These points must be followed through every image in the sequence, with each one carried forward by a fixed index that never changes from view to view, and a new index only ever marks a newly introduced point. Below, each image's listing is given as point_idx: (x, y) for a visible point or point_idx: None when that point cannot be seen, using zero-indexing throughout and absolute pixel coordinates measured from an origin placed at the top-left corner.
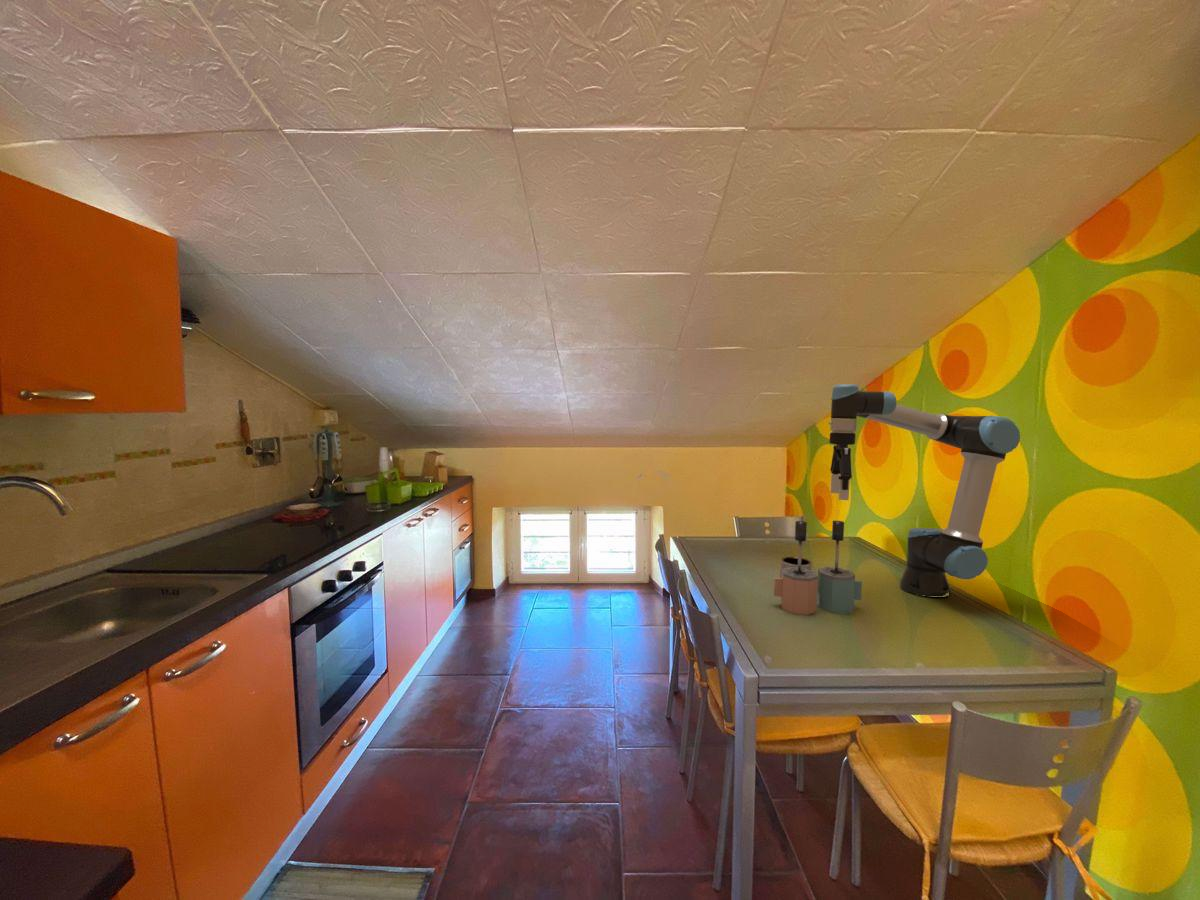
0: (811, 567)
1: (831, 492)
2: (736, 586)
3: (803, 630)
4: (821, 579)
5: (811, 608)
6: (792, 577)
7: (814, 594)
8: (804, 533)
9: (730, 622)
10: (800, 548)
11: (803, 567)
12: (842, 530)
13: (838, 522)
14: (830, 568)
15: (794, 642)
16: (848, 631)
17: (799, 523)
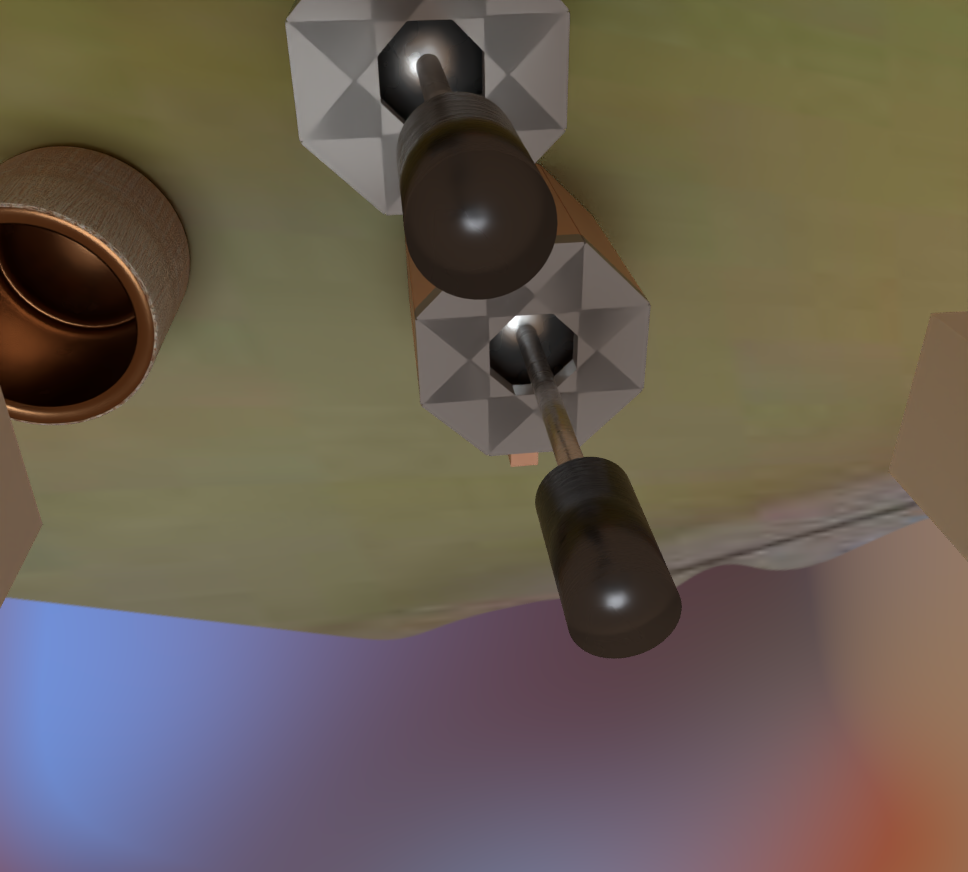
0: (43, 194)
1: (36, 523)
2: (274, 552)
3: (796, 254)
4: None
5: (576, 203)
6: (628, 396)
7: (576, 215)
8: (644, 517)
9: (750, 539)
10: (582, 454)
11: (142, 269)
12: (523, 146)
13: (541, 235)
14: (343, 111)
15: (925, 302)
16: (782, 14)
17: (671, 624)
